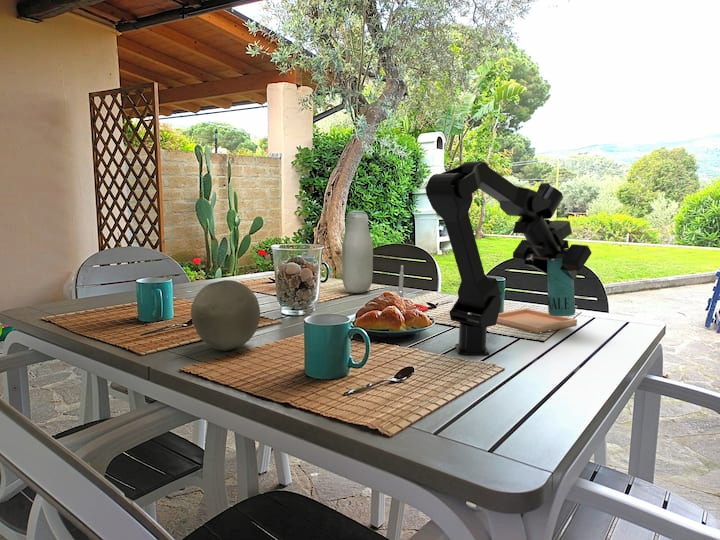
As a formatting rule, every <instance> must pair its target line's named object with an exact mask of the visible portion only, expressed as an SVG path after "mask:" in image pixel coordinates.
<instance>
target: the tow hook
mask: <svg viewBox="0 0 720 540" xmlns="http://www.w3.org/2000/svg"><path fill="white" fill-rule="evenodd" d="M404 275H405V274H404V265H402V264H401V265H400V272H399V279H398V291H397V296H398V295H399V296H400V297H402V298H403V299H404V291H403V289H404ZM413 304H414V305H415V306H416V307H420V308H417V309H418V310H419V311H422V312H423V313H426V312H427V311H428V310H429V308H428V306H426V305H423V304H419V303H413ZM416 307H415V308H416ZM421 308H422V309H421ZM428 312H429V311H428Z"/></svg>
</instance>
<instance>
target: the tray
mask: <svg viewBox="0 0 720 540" xmlns="http://www.w3.org/2000/svg"><path fill="white" fill-rule="evenodd" d="M577 322H578V319H577V318H572V317H568V316H552V315H549V312H545V311H544V312H543V311H539V310H536V309H535V310H534V309H531V308H526V307H525V308H522V309H521V308H520V309H515V310H509V311H503V312H499V315H498V319H497V322H496V325H497V324H498V325H502V326H506V327H509V328H512V327H513V329H516V328H518V329H517V330H520V329H522V330H521V331H524V330H526V331H525V332H528V331H531V332H530V333H532V332H535V333H540V332H544V331H549V330H554V329H558V330H562V329H566V328H570V327H576V326H577V324H578V323H577ZM554 331H555V330H554ZM549 332H550V331H549ZM535 333H534V334H535ZM540 334H541V333H540Z"/></svg>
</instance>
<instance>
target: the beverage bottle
mask: <svg viewBox="0 0 720 540" xmlns="http://www.w3.org/2000/svg"><path fill="white" fill-rule="evenodd" d="M563 240H564V242H565V243H564V244H563V246H560V248H563V249H568V248H569V247H570V246H569V240H565V239H563ZM561 266H562V258H555V260H551V261H549V260H547V274H546V276H547V277H546V280H547V312H548V313H549V315H552V316H563V317H571V316H574V315H575V314H576V307H575V306H576V305H575V304H576V298H575V280H573V279H572V278H570V277H569V276H568V275H566V274H565V273H564V272H563V271H562V270H560V268H561Z"/></svg>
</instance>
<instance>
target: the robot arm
mask: <svg viewBox="0 0 720 540" xmlns="http://www.w3.org/2000/svg"><path fill="white" fill-rule="evenodd" d="M477 190H480V191H481V192H483V193H485V194H487V195H488V196H489V197H491V198H492V199H494V200H495V201H497V202H498V203H499V208H500V209H501V210H502V211H503V213H505V214H506V215H507V216H509V217H519V218H518V219H517V220H516V221H515V222H514V227H513V228H512V233H513V234H523V236H524V238H525V239H522V240H521V241H520V242H519V243H518V245H517V246H516V248H515V249H514V251H513V252H512V258H513V260H514V262H515V263H519V264H520V263H521V264H524V265H525V266H528V267H530V268H533V269H535V270H536V271H539V272H541V273H543V274H545V275H547V260H549V261H551V260H555V258H562V266H561V268H560V270H562V271H563V272H564V273H565V274H566V275H568V276H569V277H570V278H572V279H573V280H574V281H575V280H576V279H577V278H578V277H577V272H578V271H580V270H582V269H583V268H584V266H585V264H586V263H587V261H588V260H589V259H590V256H591V255H592V250H591V249H590V246H589V245H586V244H573V243H572V244H571V245H570V246H569V248H566V249H563V248H560V246H563V244H564V243H565V242H564V240H565V239H566V238H567V237H569V236H571V235H572V234H573V232H572V227H571V223H570V220H562V219H561V220H559V219H557V220H556V219H555V220H550V219H551V218H552V217H553V216H554V214H555V213H556V210H557V209H558V207H559V206H560V204H561V202H562V201H563V198H564V195H563V193H562V191H560V190H559V189H557V188H556V187H554V186H551V184H550V182H542V183H540V185H539V186H538V189H537V191H535V189H534V190H533V189H531V188H528V187H522V186H518V185H515V183H514V184H513V183H512V182H511V181H510V180H508V179H507V178H505V177H504V176H502V175H501V174H500V173H498V172H497V171H495V170H494V169H492V168H491V167H489V165H488V163H487V162H485V161H482V160H476V161H465V162H464V163H461V164H460V165H458V166H457V167H454V168H452V169H448V170H447V171H443V172H441V173H435V174H433V175H432V176H430V177H429V179H428V182H427V183H426V186H425V195H426V197H427V199H428V201H429V203H430V206H431V207H432V210H433V211H434V212H435V213H436V214H437V215H438V216H439V217H440V218H441V219H442V220H443V222H444V226H445V229H446V232H447V236H448V239H449V243H450V246H451V249H452V253H453V256H454V259H455V263H456V266H457V270H458V273H459V277H460V284H459V287H458V289H457V296H458V298H457V299H456V301H455V302H454V304H453V306H452V307H451V309H450V310H449V318H450V321H452V322H458V323H459V325H458V326H459V327H458V329H459V331H458V334H459V335H458V343H455V345H454V346H455V349H456V351H457V354H458V355H464V356H465V355H467V356H468V355H469V356H471V355H472V356H477V355H478V356H490V353H491V352H490V351H489V349H488V347H487V331H488V329H487V328H491V327H493V326H496V325H497V323H496V322H497V319H498V315H499V313H500V310H501V307H502V300H501V295H502V292H501V291H500V288H499V282H498V280H497V278H495V277H490V276H487V275H486V273H485V270H484V266H483V263H482V259H481V256H480V252H479V248H478V244H477V240H476V238H475V234H474V230H473V226H472V221H471V219H470V214H469V213H470V209H471V206H472V203H473V194H474V193H475V192H476V191H477Z"/></svg>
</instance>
